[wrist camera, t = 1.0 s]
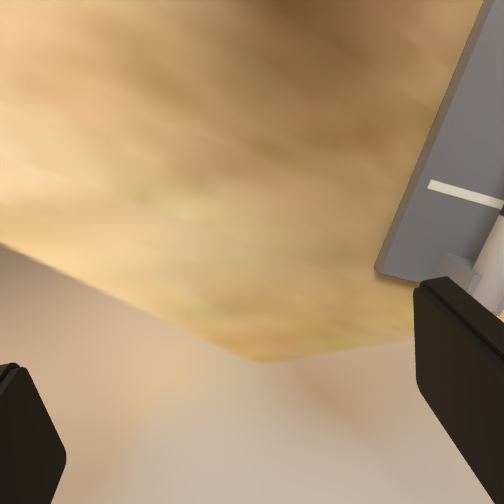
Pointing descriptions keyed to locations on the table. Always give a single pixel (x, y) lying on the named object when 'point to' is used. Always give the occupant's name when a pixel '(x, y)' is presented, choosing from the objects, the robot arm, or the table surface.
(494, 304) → the pipe rig
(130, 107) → the table surface
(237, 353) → the table surface
